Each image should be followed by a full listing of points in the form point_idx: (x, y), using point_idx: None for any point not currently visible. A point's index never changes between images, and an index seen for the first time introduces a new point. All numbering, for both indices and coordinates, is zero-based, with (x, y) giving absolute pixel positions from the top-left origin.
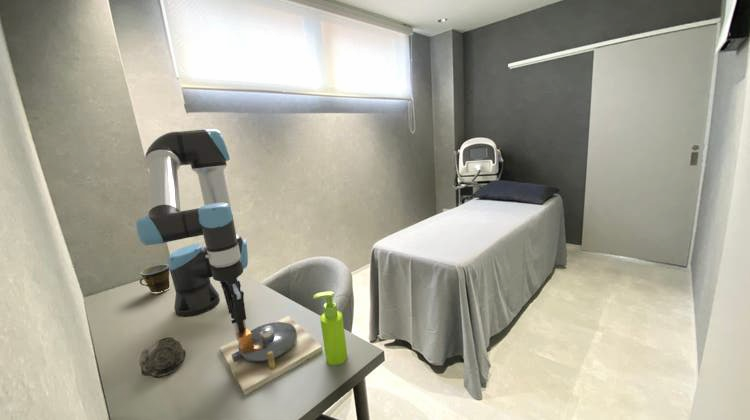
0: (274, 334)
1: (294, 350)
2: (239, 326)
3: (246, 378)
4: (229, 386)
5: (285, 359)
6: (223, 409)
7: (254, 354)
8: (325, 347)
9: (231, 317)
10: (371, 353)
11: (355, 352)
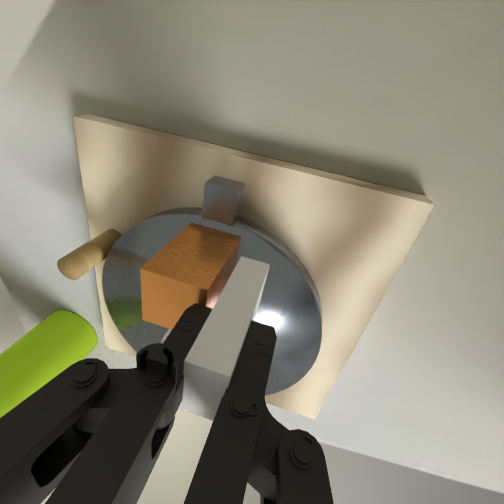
0: None
1: None
2: (167, 337)
3: (124, 157)
4: (170, 99)
5: None
6: (70, 15)
7: (153, 243)
8: (27, 346)
9: (240, 397)
10: None
11: None
